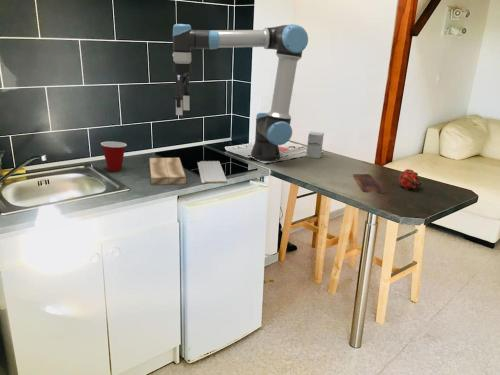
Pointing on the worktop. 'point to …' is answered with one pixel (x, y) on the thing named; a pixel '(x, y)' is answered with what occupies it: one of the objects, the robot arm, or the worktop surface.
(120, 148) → the plastic cup
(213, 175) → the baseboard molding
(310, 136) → the supplement box
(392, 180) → the worktop surface
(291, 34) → the robot arm
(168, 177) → the oak floor section
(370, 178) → the wooden tablet
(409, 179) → the dragon fruit
